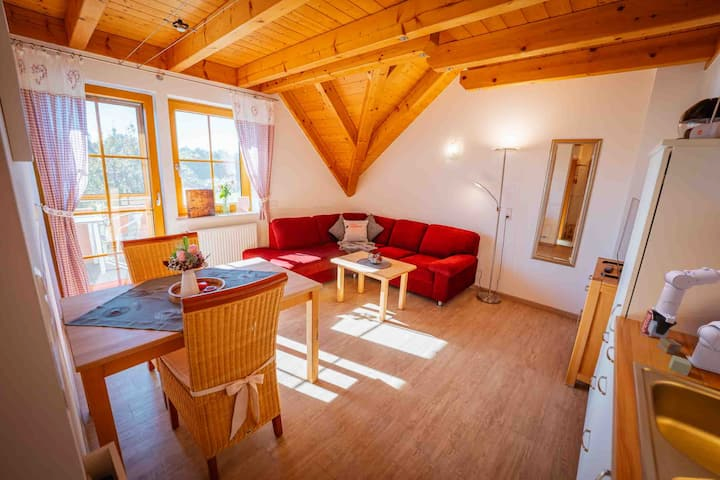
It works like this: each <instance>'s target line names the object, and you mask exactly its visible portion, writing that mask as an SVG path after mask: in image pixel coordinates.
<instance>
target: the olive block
mask: <svg viewBox="0 0 720 480" xmlns="http://www.w3.org/2000/svg"><path fill="white" fill-rule="evenodd" d="M668 367H669V371H672V372H674V373H677V374H680V375H682V376H685V377H688V375H689V373H690V370H691V369H692V363H691V362H690V361H689V360H688V358H684V357H681V356H677V355H676V354H672V356H671V359H670V361H669V363H668Z"/></svg>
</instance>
